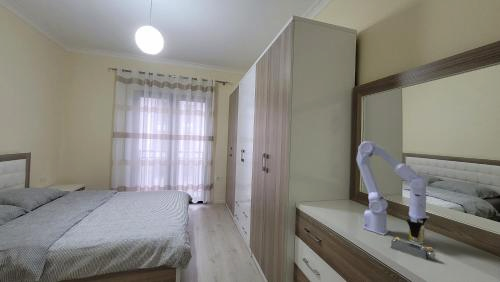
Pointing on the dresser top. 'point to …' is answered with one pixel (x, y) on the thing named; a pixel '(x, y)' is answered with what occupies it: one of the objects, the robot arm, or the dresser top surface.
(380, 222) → the robot arm
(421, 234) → the supplement bottle
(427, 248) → the guard rails
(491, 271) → the dresser top surface
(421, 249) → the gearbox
